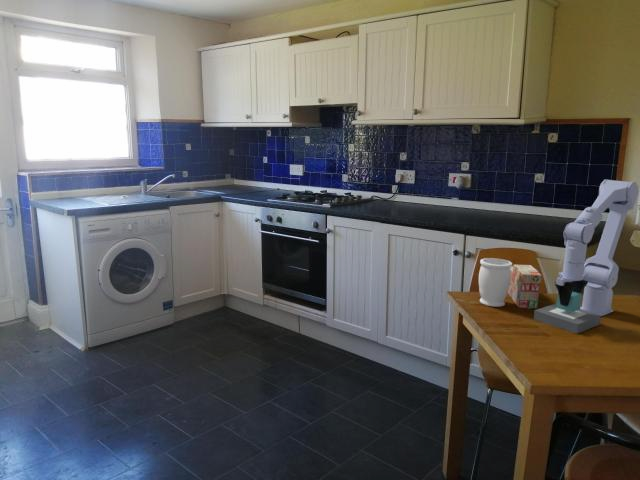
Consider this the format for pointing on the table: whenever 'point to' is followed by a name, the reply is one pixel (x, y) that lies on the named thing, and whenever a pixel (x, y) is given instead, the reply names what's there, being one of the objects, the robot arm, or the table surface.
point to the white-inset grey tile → (567, 318)
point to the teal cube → (571, 302)
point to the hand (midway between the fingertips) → (568, 303)
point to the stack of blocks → (524, 286)
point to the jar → (494, 281)
